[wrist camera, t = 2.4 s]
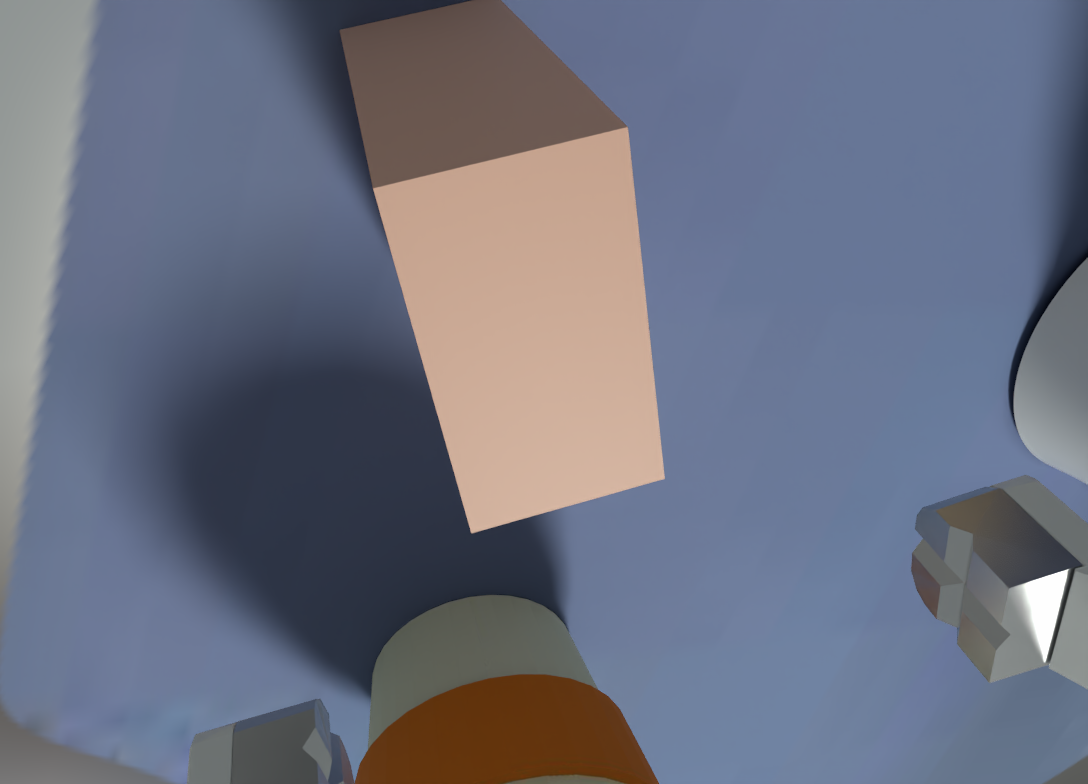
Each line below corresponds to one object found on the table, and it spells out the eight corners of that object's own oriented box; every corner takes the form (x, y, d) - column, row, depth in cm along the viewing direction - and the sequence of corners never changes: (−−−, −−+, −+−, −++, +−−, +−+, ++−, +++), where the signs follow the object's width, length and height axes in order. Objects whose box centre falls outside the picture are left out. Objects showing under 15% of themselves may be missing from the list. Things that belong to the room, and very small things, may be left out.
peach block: (495, -6, 25) (627, 126, 15) (541, 252, 30) (664, 478, 20) (339, 29, 25) (373, 188, 15) (410, 285, 29) (471, 533, 19)
